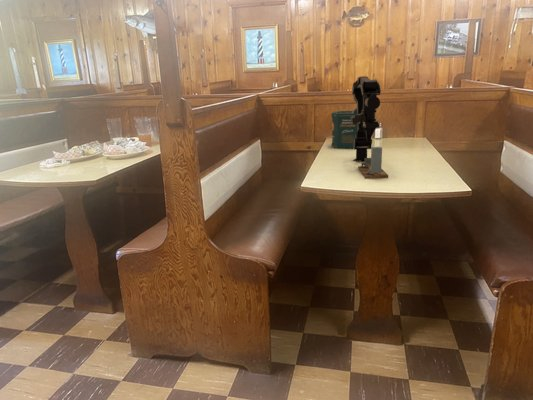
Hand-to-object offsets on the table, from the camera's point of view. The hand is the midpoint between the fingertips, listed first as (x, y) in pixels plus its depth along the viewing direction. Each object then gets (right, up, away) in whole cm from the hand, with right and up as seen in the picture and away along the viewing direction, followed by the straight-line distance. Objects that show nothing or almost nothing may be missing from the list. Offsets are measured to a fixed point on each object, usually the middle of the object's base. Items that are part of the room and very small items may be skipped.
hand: (368, 140), depth 207 cm
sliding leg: (-1, -16, -15) cm, 22 cm away
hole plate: (0, -16, -7) cm, 17 cm away
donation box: (0, +5, +61) cm, 61 cm away
